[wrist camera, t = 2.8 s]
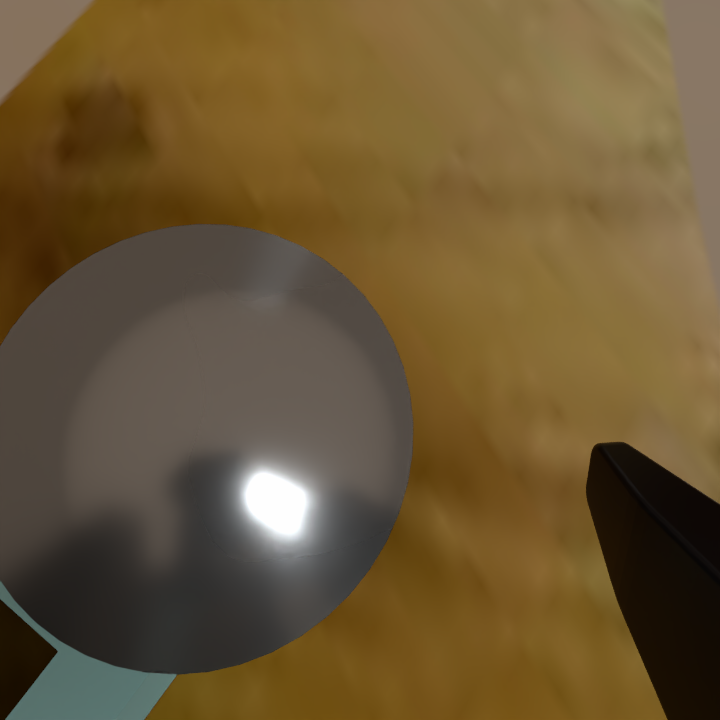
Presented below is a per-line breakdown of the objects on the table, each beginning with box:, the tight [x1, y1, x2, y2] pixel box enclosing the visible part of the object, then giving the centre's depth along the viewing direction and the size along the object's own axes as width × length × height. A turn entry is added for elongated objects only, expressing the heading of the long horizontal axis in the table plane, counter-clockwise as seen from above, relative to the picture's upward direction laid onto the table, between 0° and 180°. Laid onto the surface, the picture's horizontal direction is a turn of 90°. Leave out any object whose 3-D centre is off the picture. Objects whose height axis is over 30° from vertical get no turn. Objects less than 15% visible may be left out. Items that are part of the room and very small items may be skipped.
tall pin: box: [0, 224, 413, 674], centre depth 11 cm, size 3×3×13 cm
